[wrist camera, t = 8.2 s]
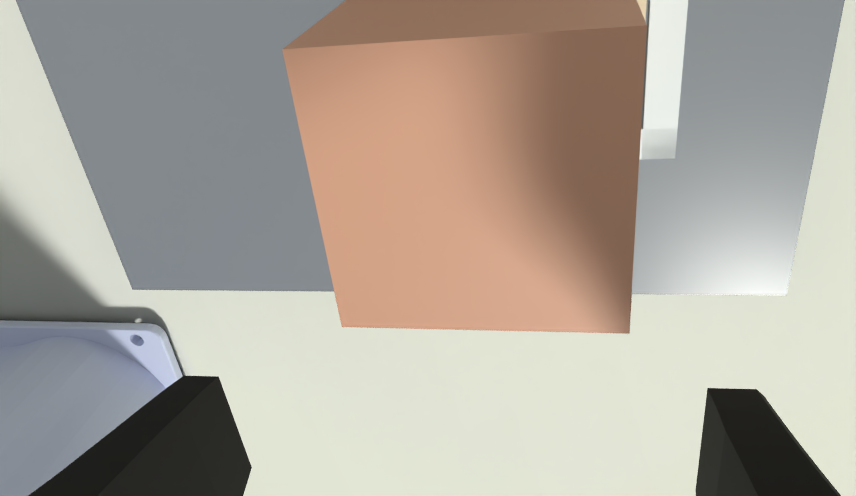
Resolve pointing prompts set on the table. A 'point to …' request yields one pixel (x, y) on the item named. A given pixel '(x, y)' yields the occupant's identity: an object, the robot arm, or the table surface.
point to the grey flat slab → (287, 168)
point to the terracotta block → (475, 160)
